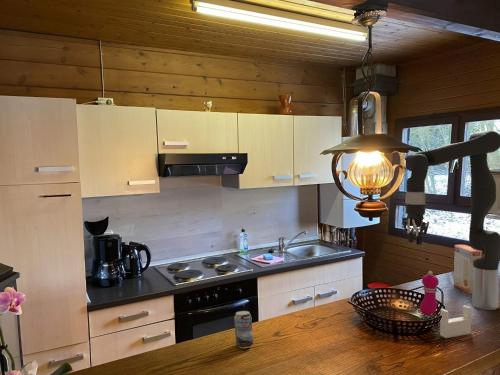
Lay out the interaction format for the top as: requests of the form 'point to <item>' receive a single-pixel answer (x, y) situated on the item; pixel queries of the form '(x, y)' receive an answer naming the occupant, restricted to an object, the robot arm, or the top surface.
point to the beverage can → (243, 329)
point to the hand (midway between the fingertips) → (414, 243)
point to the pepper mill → (429, 294)
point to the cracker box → (464, 267)
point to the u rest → (455, 323)
